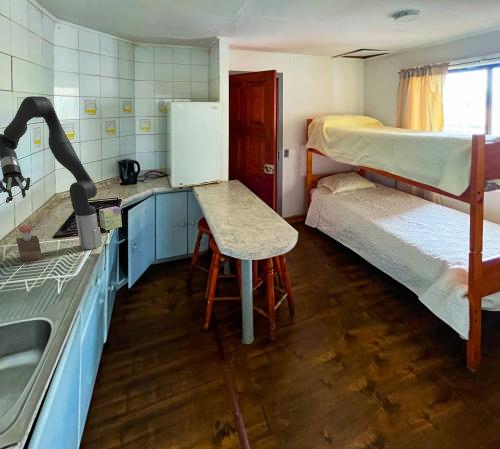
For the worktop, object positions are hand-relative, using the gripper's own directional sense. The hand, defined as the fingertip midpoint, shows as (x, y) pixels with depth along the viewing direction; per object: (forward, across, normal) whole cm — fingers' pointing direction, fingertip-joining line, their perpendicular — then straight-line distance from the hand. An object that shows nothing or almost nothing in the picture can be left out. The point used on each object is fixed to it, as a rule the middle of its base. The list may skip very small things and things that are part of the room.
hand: (17, 197), depth 158 cm
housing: (+28, 0, +9) cm, 29 cm away
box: (+11, +43, +27) cm, 52 cm away
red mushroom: (+24, 0, +5) cm, 24 cm away
